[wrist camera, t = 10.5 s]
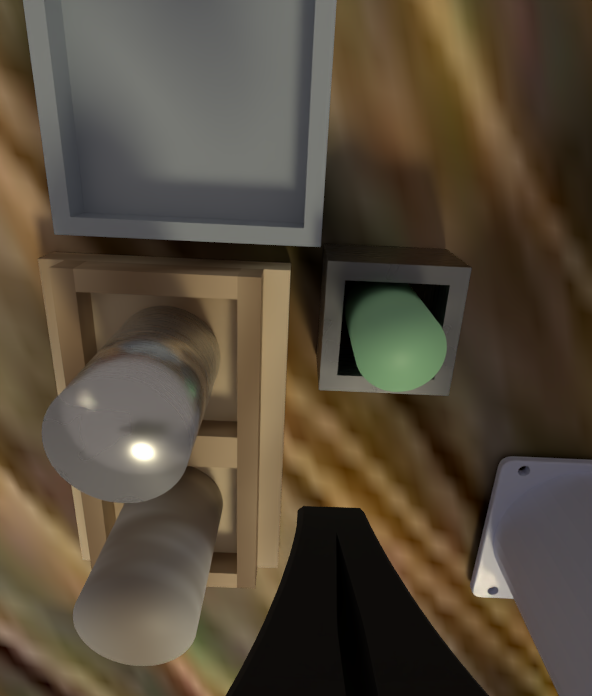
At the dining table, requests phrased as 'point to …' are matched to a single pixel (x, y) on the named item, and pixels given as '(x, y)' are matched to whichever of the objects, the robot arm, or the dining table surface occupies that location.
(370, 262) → the switch box
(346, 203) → the dining table surface
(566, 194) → the dining table surface
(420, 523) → the dining table surface
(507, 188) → the dining table surface
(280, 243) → the tray
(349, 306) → the button
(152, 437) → the cylinder
